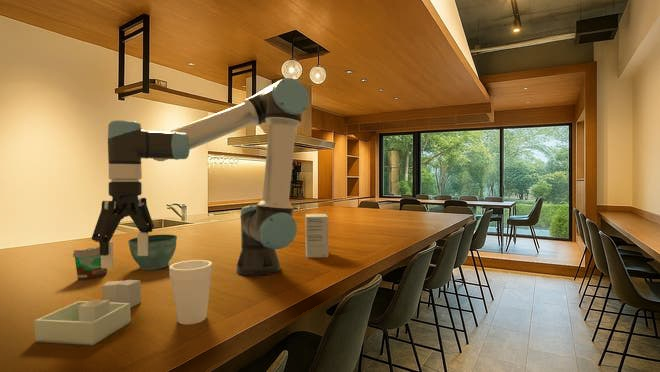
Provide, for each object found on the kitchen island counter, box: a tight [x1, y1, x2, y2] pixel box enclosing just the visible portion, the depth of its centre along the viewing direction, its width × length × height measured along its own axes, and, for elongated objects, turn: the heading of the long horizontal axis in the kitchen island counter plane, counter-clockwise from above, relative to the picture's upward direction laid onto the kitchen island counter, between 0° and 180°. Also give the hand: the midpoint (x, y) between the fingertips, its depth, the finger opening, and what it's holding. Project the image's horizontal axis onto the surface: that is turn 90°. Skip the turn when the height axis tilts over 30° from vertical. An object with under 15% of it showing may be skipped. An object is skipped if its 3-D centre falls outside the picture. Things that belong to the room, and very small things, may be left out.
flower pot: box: [127, 234, 178, 271], centre depth 132 cm, size 16×16×11 cm
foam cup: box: [168, 259, 213, 325], centre depth 85 cm, size 10×9×13 cm
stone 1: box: [78, 299, 110, 322], centre depth 78 cm, size 4×4×6 cm
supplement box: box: [304, 213, 329, 259], centre depth 150 cm, size 10×9×17 cm
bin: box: [34, 300, 132, 346], centre depth 79 cm, size 13×11×4 cm
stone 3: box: [116, 279, 142, 309], centre depth 95 cm, size 4×4×6 cm
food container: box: [72, 246, 108, 281], centre depth 121 cm, size 12×6×10 cm, turn 168°
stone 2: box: [101, 280, 124, 303], centre depth 98 cm, size 4×4×5 cm
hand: (126, 261), depth 94 cm, fingers open, 13 cm apart
